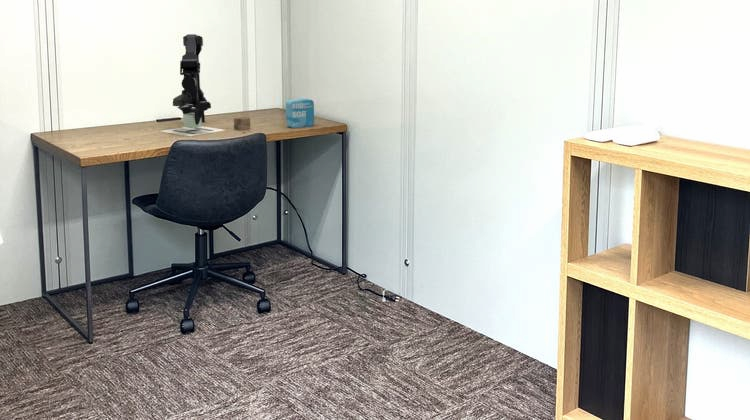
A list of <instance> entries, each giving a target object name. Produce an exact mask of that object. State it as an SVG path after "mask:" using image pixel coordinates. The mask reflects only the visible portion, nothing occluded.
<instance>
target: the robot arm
mask: <svg viewBox="0 0 750 420" xmlns="http://www.w3.org/2000/svg"><path fill="white" fill-rule="evenodd" d="M182 39H183V40H182V43H183V46H184V47H185V53H184V54H183V55H182V56H181V60H180V62H179V64H180V65H179V68H180V69H179V75H180V76H183V78H182V80H181V88H183V89H182V90H181V94H179V95H177V96H175V97H174V98H172V106H173V107H177V109H179V110H180V111H181V112H182V115H183V114H187V113H194V114H195V123H196V125H198V124H199V122H200V119H201V118H202V123H205V122H206V118H205V117H206V116H205V111H208V109H211V108H212V105H211V104H212V103H211V102H210V101H208V100H207V98H206V97H205V94H204V91H203V90H202V88H201V82H200V81H201V79H200V77H201V76H200V73H201V62H200V57H199V56H200V53H201V52H202V50H203V48H202V47H203V46H204V38H203V36H201V35H198V34H196V33H193V34H191V33H189V34H185V36H183V37H182Z"/></svg>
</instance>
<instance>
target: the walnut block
mask: <svg viewBox="0 0 750 420" xmlns="http://www.w3.org/2000/svg"><path fill="white" fill-rule="evenodd" d="M233 130H237V131H242V132H241V134H242V133H243V134H244V133H246V131H247V133H249V132H251V131H250V130H251V117H246V116H245V117H244V116H240V117H233Z"/></svg>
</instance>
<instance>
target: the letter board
mask: <svg viewBox="0 0 750 420" xmlns="http://www.w3.org/2000/svg"><path fill="white" fill-rule="evenodd" d="M223 131H225V129H222V128H215V127H209V126H203V125H202V127H196V128H188V127H184V126H182V127H178V128H170V129H165V130H161V132H162V133H163V132H164V133H167V134H168V133H169V134H173V135H174V134H175V135H180V136H185V137H186V136H187V137H193V136H200V135H206V134H211V133H212V134H213V133H217V132H223Z"/></svg>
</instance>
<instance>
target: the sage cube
mask: <svg viewBox="0 0 750 420" xmlns="http://www.w3.org/2000/svg"><path fill="white" fill-rule="evenodd" d="M182 120H183V127H188V128H196V127H202V126H203V122H202V118H201V119H200V122H199V124H198V125H196V123H195V114H194V113H187V114H183V113H182Z"/></svg>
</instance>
